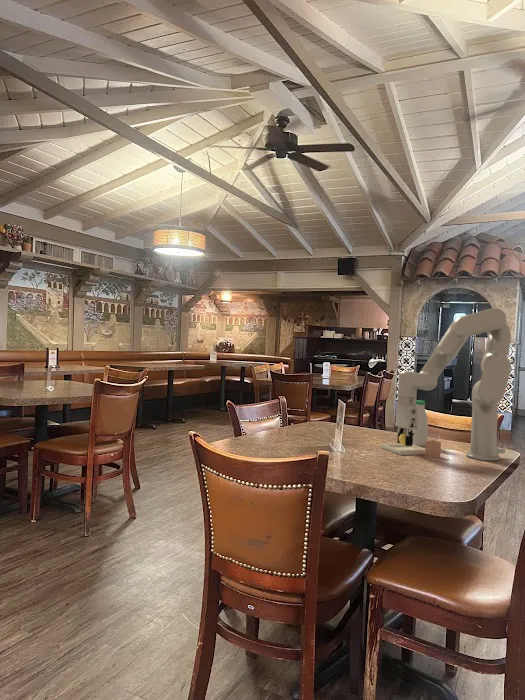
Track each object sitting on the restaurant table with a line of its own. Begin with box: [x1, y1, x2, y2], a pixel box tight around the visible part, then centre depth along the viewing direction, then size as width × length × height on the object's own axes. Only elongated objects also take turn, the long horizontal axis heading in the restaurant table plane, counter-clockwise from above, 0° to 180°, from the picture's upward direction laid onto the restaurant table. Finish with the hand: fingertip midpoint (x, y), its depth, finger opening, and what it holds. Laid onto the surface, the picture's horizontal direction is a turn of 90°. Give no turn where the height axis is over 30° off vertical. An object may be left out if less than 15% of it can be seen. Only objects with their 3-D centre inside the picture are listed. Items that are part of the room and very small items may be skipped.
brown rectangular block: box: [424, 439, 442, 458], centre depth 206 cm, size 4×4×6 cm
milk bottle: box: [409, 399, 429, 447], centre depth 230 cm, size 8×8×20 cm
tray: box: [380, 443, 425, 456], centre depth 214 cm, size 14×14×2 cm
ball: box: [399, 432, 407, 445], centre depth 214 cm, size 5×5×5 cm
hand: (404, 443), depth 214 cm, fingers closed on ball, 4 cm apart
